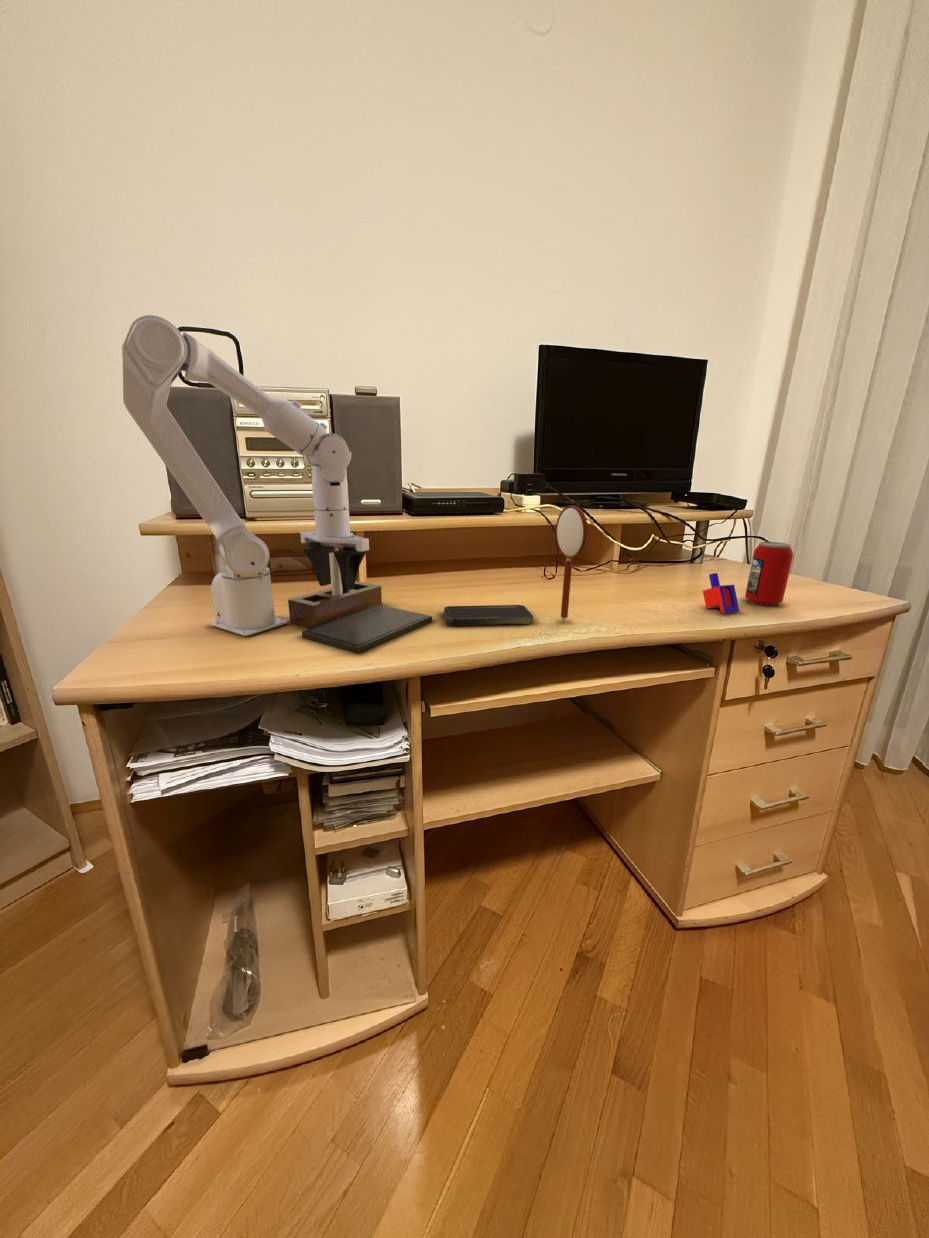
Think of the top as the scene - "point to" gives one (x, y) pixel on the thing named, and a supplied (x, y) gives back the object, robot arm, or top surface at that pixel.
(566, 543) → the magnifying glass
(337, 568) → the stylus
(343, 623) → the tablet
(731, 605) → the toy building block
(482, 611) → the phone
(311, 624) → the pen stand
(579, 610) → the top surface
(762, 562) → the beverage can
